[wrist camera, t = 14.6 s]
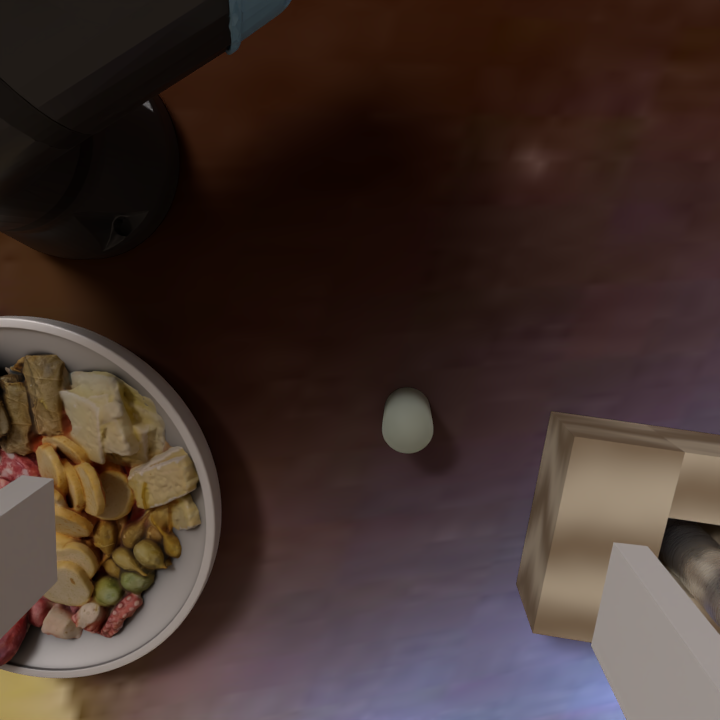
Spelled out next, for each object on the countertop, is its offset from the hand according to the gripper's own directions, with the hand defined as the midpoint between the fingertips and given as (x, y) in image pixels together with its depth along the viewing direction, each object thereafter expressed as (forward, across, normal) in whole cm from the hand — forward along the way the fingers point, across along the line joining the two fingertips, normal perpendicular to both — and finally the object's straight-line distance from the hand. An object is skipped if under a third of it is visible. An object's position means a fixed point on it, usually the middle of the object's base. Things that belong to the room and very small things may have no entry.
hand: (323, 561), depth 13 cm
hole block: (+29, +24, -12) cm, 40 cm away
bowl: (+31, -25, -16) cm, 43 cm away
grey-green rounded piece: (+30, +3, -6) cm, 31 cm away
